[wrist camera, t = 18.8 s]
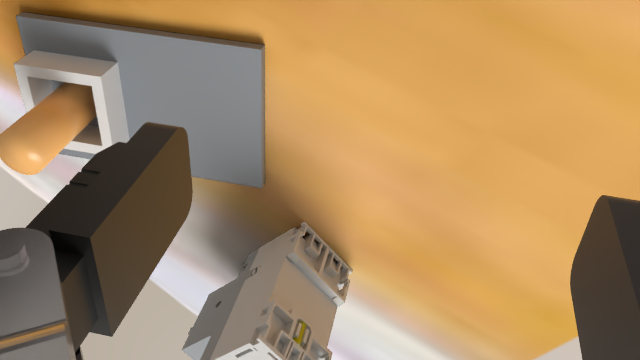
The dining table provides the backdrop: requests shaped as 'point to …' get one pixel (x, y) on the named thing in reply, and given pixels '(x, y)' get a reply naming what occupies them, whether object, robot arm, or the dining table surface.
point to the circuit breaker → (274, 304)
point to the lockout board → (154, 89)
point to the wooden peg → (47, 128)
